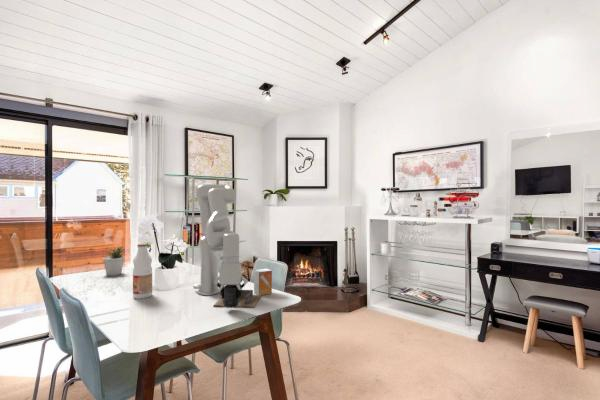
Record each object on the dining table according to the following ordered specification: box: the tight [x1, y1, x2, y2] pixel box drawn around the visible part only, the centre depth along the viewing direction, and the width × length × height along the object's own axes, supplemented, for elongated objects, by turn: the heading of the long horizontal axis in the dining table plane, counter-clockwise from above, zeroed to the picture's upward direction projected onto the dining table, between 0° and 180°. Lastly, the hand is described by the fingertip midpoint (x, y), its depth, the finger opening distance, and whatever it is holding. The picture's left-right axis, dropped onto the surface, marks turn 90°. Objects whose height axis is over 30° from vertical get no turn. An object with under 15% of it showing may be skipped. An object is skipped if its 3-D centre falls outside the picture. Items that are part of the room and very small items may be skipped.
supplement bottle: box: [223, 285, 238, 308], centre depth 161 cm, size 7×7×12 cm
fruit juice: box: [132, 243, 153, 299], centre depth 183 cm, size 9×9×28 cm
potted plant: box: [102, 244, 127, 277], centre depth 233 cm, size 13×14×20 cm
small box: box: [253, 268, 273, 296], centre depth 189 cm, size 8×6×13 cm
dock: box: [212, 289, 262, 309], centre depth 175 cm, size 20×18×4 cm
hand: (230, 297), depth 161 cm, fingers closed on supplement bottle, 6 cm apart
